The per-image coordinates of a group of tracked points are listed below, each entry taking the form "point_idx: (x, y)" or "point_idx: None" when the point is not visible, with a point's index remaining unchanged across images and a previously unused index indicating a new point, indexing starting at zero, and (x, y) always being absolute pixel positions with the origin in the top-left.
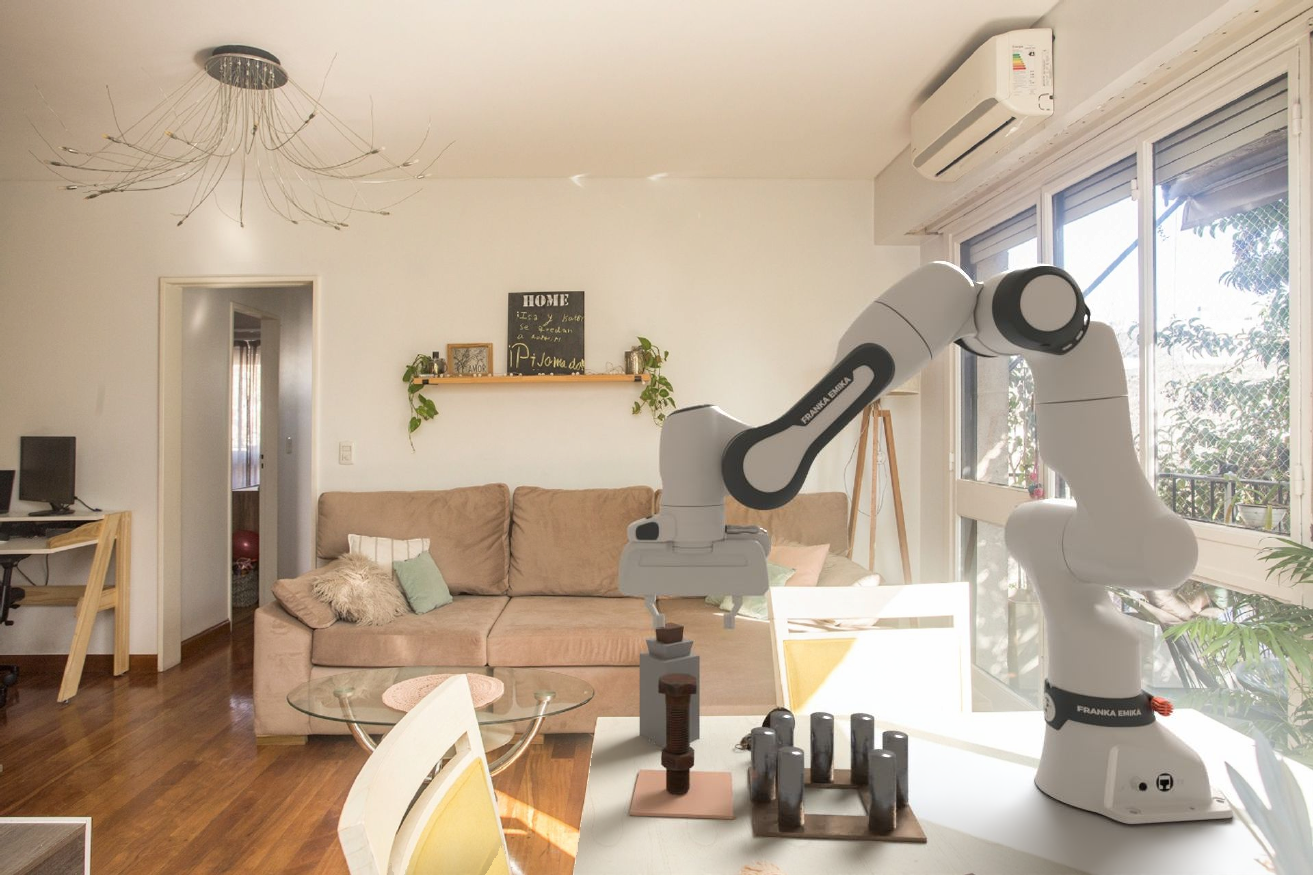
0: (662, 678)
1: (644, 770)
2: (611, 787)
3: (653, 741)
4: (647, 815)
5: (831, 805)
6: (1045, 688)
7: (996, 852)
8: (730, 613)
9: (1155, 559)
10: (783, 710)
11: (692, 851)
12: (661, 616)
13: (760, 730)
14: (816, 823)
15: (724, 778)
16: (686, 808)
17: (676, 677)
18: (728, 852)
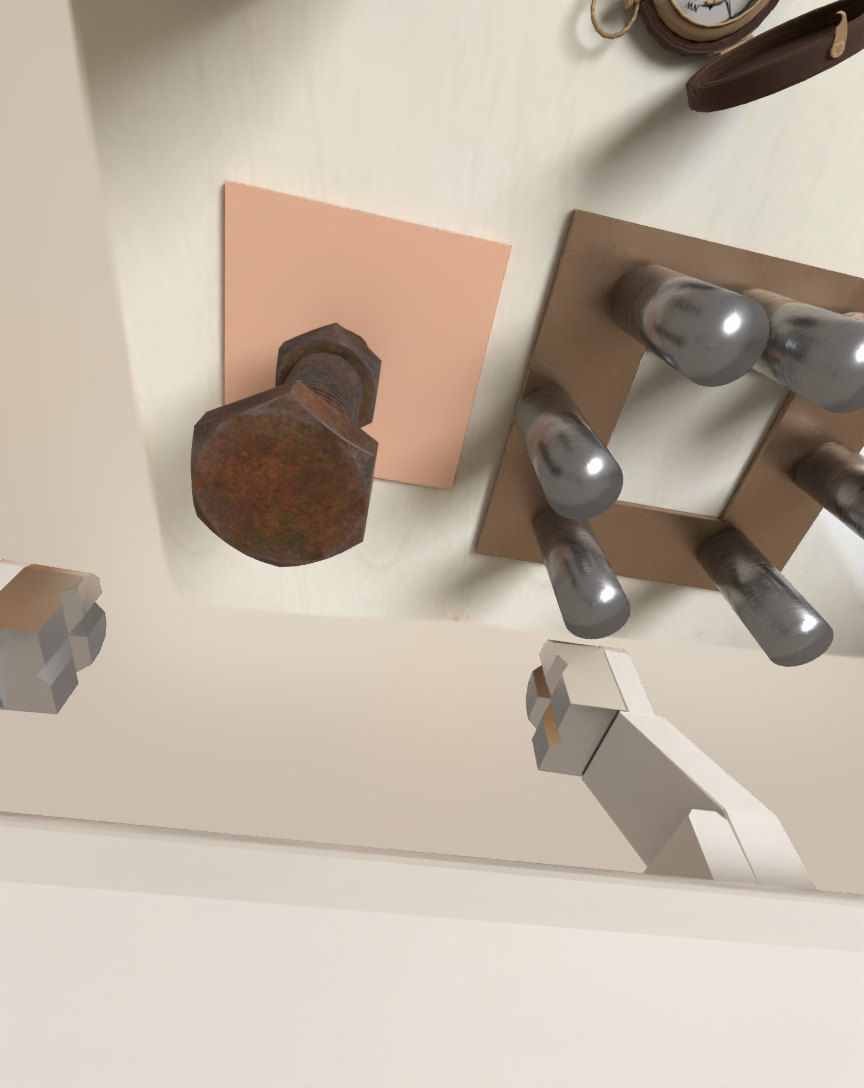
0: (207, 486)
1: (241, 191)
2: (156, 288)
3: None
4: None
5: (682, 451)
6: None
7: (840, 625)
8: (605, 765)
9: None
10: (843, 60)
11: (352, 582)
12: (37, 709)
13: (579, 478)
14: (603, 538)
15: (479, 290)
16: None
17: (274, 477)
18: (414, 590)
